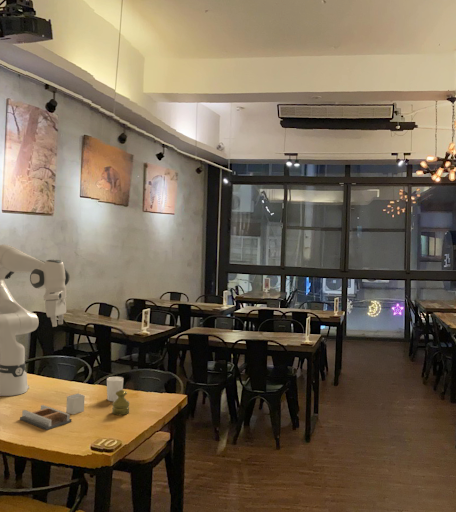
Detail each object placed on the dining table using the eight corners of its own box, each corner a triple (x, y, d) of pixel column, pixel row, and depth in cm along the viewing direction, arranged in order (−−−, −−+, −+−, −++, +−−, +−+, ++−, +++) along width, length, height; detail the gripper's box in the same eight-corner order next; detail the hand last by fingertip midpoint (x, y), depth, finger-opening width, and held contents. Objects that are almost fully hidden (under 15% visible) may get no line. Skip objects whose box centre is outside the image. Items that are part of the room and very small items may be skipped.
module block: (66, 412, 213) (66, 396, 213) (77, 408, 218) (78, 393, 218) (72, 414, 211) (73, 398, 210) (84, 411, 216) (84, 395, 215)
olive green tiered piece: (118, 408, 220) (119, 387, 220) (132, 411, 217) (133, 389, 217) (108, 413, 213) (109, 391, 213) (123, 416, 210) (123, 393, 210)
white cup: (103, 398, 234) (103, 378, 234) (117, 395, 239) (118, 375, 239) (110, 403, 228) (111, 381, 228) (125, 400, 233) (126, 379, 233)
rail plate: (19, 419, 202) (20, 411, 202) (45, 412, 212) (45, 404, 212) (46, 430, 192) (46, 421, 192) (71, 421, 202) (71, 413, 202)
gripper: (55, 294, 230) (57, 323, 230) (42, 296, 210) (43, 328, 209) (69, 293, 231) (70, 322, 230) (57, 295, 210) (58, 327, 210)
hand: (57, 325), depth 220 cm, fingers open, 8 cm apart
